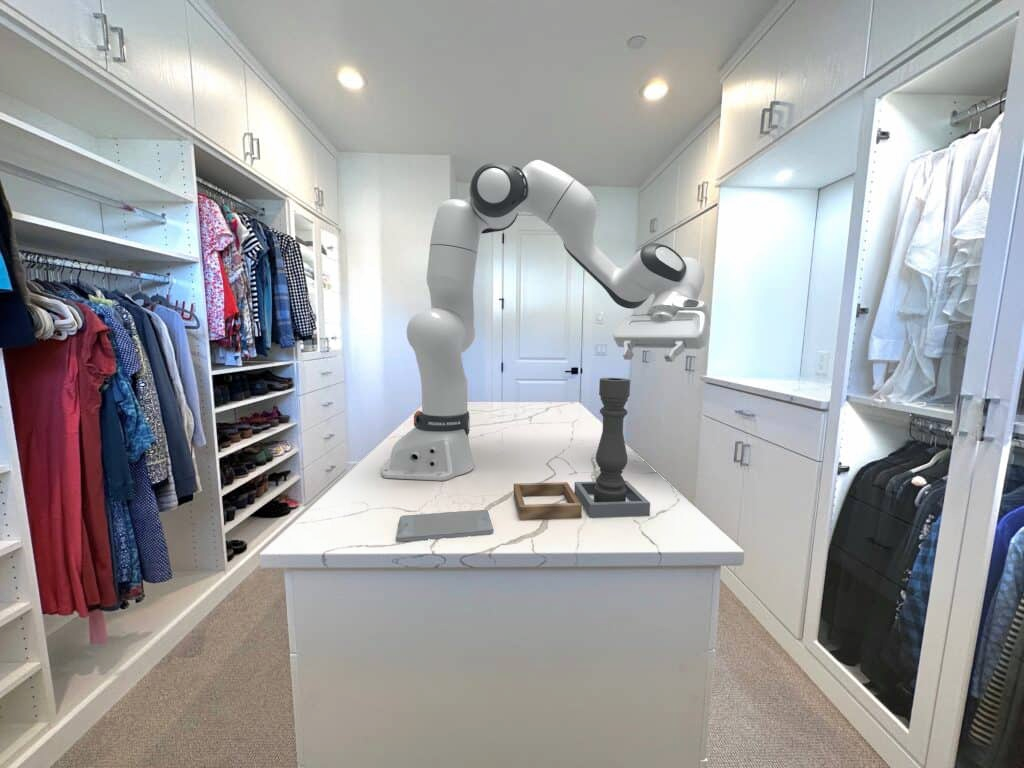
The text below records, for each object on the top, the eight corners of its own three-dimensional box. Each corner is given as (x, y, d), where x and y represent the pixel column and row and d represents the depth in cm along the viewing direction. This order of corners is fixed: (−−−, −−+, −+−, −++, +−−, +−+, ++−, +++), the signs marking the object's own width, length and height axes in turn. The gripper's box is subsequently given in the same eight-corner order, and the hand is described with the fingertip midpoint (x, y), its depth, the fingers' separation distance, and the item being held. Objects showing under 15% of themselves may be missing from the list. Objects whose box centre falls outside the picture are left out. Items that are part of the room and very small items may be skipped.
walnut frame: (519, 520, 72) (519, 507, 71) (513, 495, 83) (513, 483, 82) (581, 518, 73) (581, 505, 72) (566, 493, 84) (567, 482, 84)
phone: (494, 537, 66) (494, 530, 66) (395, 546, 63) (395, 538, 63) (487, 515, 74) (487, 509, 74) (399, 522, 71) (399, 515, 71)
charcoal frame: (589, 517, 73) (590, 504, 72) (574, 493, 84) (574, 481, 84) (649, 515, 74) (650, 502, 74) (626, 491, 85) (626, 480, 85)
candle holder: (626, 512, 75) (633, 381, 72) (593, 508, 77) (598, 380, 73) (624, 499, 81) (630, 378, 78) (593, 496, 83) (598, 377, 79)
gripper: (622, 306, 96) (599, 347, 90) (712, 301, 81) (691, 349, 76) (630, 325, 99) (609, 366, 94) (718, 323, 85) (699, 371, 79)
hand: (646, 358), depth 85 cm, fingers open, 8 cm apart
